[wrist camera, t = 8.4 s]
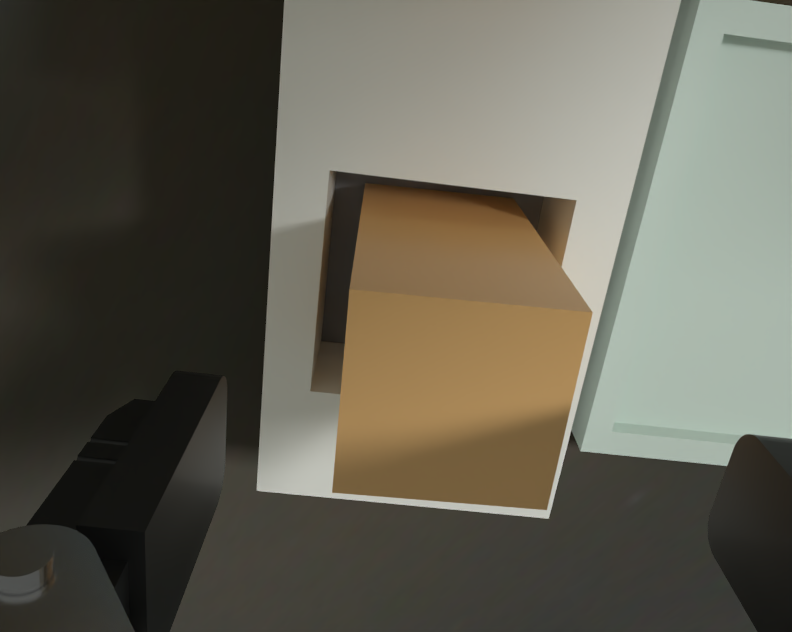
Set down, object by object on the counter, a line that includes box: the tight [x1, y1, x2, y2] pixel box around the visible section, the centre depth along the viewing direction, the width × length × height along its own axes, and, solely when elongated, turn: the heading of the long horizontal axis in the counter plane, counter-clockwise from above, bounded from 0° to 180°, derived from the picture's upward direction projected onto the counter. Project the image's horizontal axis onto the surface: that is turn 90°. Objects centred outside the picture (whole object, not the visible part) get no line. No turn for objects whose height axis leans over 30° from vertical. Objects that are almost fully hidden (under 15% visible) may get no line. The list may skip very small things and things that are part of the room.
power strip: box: [257, 0, 681, 519], centre depth 14 cm, size 16×22×9 cm
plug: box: [332, 183, 593, 510], centre depth 16 cm, size 4×4×8 cm
